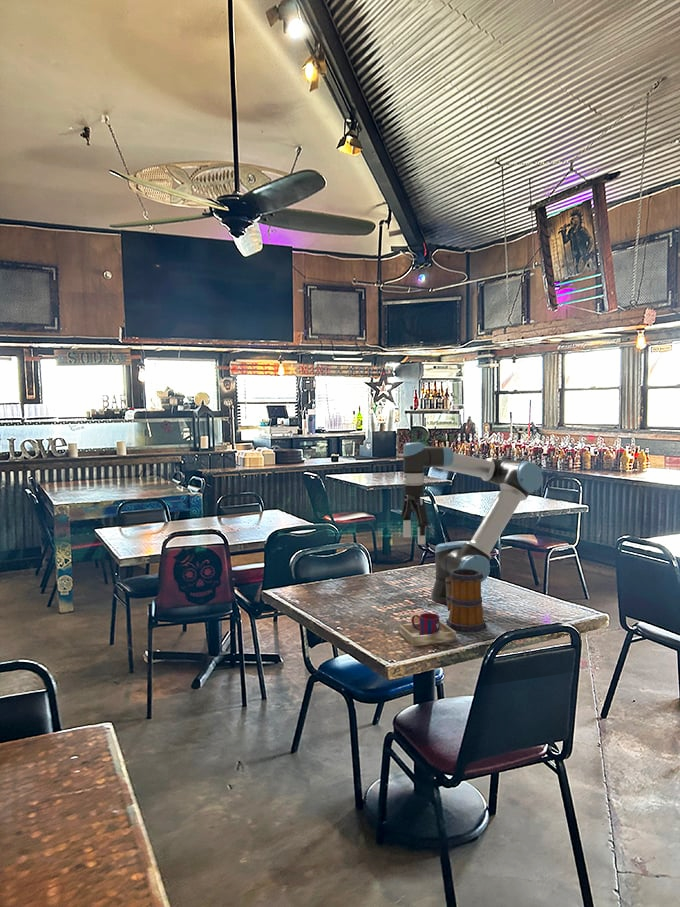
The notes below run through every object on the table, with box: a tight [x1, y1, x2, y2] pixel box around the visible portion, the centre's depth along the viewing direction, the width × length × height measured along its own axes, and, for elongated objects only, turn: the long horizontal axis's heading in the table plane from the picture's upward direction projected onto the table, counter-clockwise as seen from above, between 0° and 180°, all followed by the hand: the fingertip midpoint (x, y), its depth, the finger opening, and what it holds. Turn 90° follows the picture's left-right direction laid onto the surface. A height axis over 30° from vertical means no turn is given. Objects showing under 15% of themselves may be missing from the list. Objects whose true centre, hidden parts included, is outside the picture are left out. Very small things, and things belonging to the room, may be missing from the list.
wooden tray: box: [398, 619, 457, 647], centre depth 216 cm, size 16×13×3 cm
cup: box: [412, 612, 440, 635], centre depth 217 cm, size 7×10×7 cm
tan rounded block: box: [410, 611, 425, 624], centre depth 230 cm, size 6×6×4 cm
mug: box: [445, 568, 488, 635], centre depth 227 cm, size 19×14×20 cm
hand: (414, 540), depth 237 cm, fingers open, 13 cm apart
